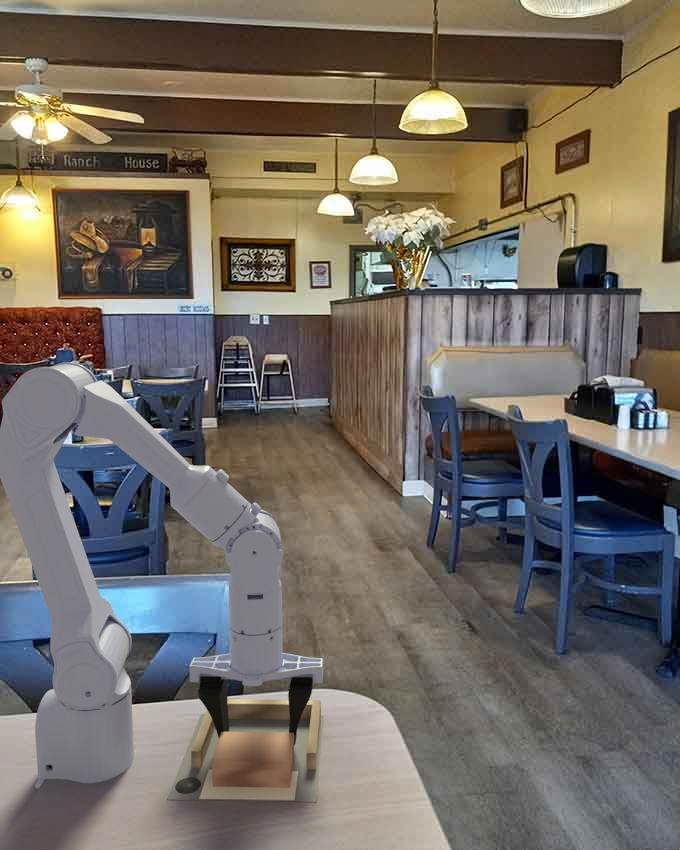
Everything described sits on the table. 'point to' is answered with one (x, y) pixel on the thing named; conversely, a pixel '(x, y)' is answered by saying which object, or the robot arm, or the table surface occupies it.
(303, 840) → the table surface
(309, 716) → the oak cubby
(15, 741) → the table surface
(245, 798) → the floor board
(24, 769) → the table surface
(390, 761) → the table surface
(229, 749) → the terracotta slab
